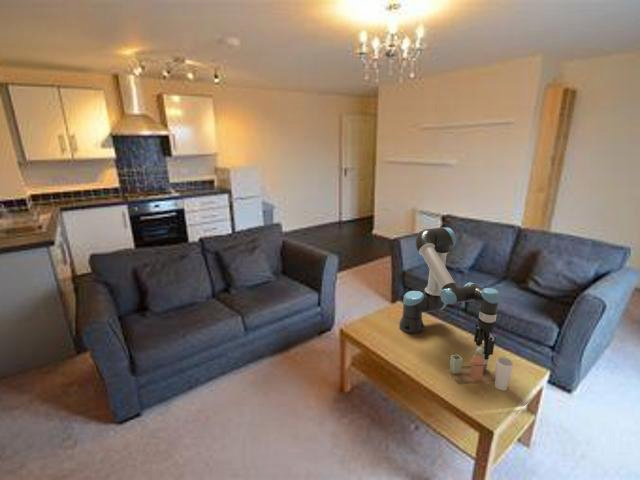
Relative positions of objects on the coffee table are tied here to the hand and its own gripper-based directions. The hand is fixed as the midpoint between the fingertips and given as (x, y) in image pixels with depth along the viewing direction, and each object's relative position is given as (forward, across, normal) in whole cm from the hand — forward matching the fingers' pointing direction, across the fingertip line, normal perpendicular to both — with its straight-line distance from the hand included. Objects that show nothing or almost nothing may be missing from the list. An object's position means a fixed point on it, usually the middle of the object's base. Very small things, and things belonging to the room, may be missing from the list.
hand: (481, 360), depth 170 cm
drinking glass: (+6, +14, +2) cm, 15 cm away
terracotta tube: (+5, +6, -6) cm, 10 cm away
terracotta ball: (-3, +6, -6) cm, 9 cm away
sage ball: (-3, 0, 0) cm, 3 cm away
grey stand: (+5, 0, 0) cm, 5 cm away
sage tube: (+5, 0, -14) cm, 14 cm away
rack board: (+6, +3, -7) cm, 10 cm away
